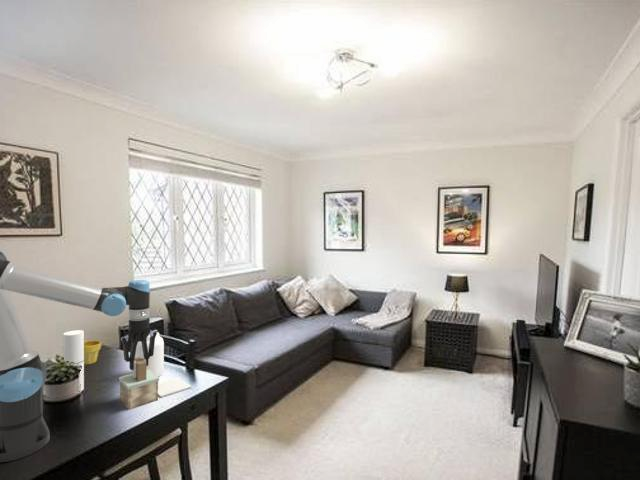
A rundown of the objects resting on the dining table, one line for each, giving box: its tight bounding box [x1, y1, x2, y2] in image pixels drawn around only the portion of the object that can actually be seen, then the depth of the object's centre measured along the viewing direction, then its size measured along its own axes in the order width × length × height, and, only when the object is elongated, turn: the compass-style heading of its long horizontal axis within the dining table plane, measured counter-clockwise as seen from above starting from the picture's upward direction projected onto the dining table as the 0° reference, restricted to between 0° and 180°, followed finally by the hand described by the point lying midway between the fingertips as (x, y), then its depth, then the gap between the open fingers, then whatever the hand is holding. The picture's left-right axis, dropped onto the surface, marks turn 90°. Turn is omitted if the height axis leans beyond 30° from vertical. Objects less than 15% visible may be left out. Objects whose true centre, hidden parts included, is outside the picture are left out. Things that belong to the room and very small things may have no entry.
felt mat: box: [158, 376, 192, 399], centre depth 153 cm, size 13×13×1 cm
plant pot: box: [84, 339, 102, 365], centre depth 179 cm, size 10×10×10 cm
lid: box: [118, 357, 160, 390], centre depth 141 cm, size 12×12×10 cm
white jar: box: [135, 331, 165, 378], centre depth 165 cm, size 12×12×20 cm
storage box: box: [119, 381, 159, 410], centre depth 142 cm, size 11×11×8 cm
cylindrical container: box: [62, 329, 85, 393], centre depth 148 cm, size 7×7×25 cm
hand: (139, 375), depth 141 cm, fingers closed on lid, 3 cm apart
